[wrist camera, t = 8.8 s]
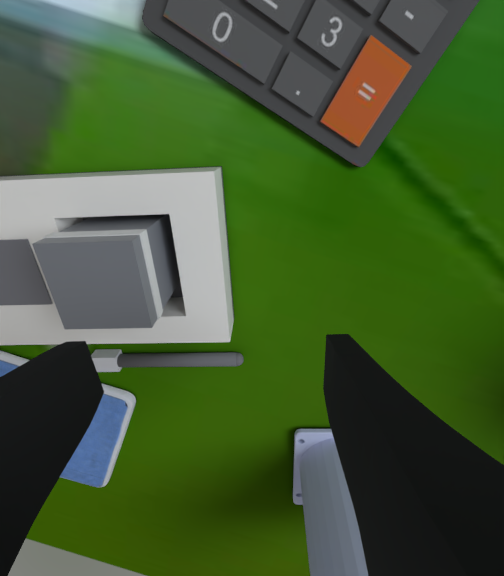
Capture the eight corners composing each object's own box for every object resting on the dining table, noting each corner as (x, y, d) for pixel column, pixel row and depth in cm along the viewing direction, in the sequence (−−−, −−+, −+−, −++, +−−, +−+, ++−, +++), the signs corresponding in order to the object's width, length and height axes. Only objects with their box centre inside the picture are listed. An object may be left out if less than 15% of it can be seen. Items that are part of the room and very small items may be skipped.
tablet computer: (-113, 415, 26) (-131, 428, 25) (-136, 296, 20) (-161, 306, 19) (111, 477, 28) (104, 492, 27) (142, 386, 23) (135, 400, 22)
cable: (244, 361, 21) (243, 370, 20) (100, 363, 21) (94, 371, 21) (243, 347, 20) (242, 356, 20) (95, 349, 21) (88, 358, 20)
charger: (181, 281, 18) (153, 328, 13) (113, 282, 18) (64, 330, 14) (170, 211, 16) (133, 239, 12) (94, 214, 16) (30, 242, 12)
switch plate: (234, 317, 19) (229, 343, 17) (24, 321, 20) (-9, 346, 18) (221, 166, 15) (213, 171, 13) (-40, 178, 16) (-94, 184, 14)
